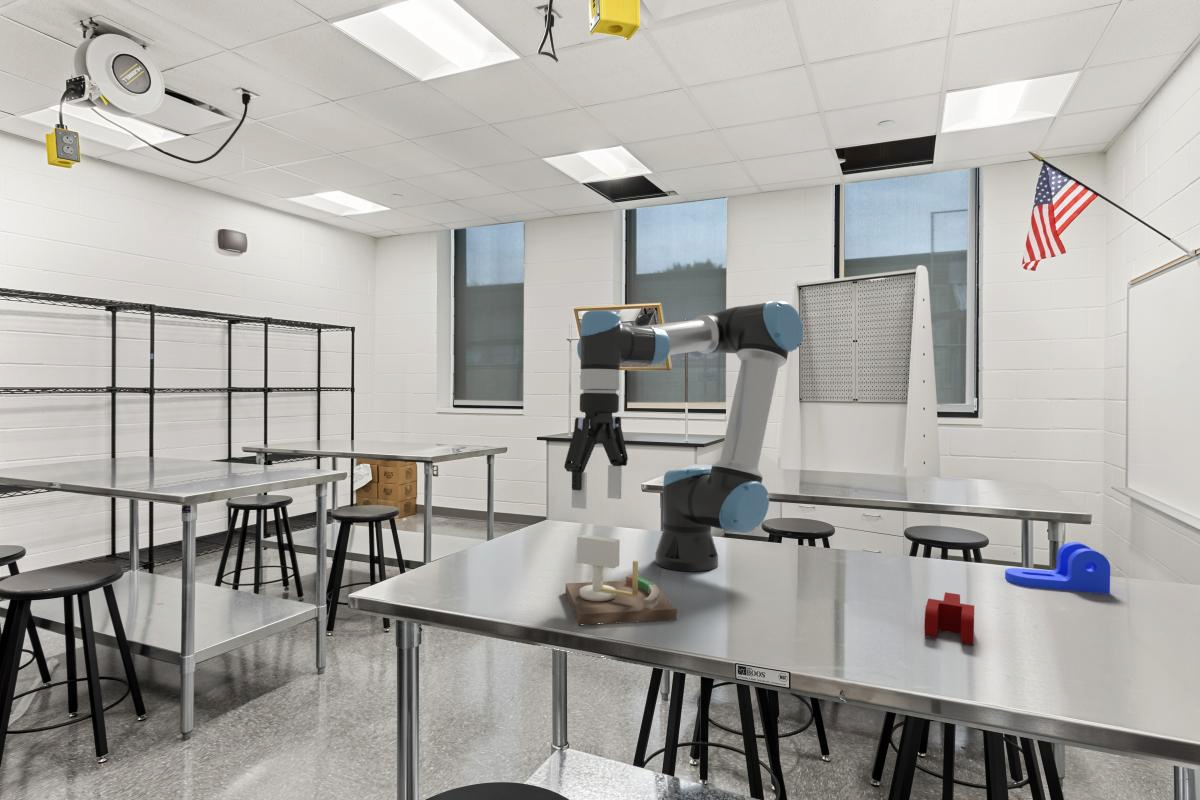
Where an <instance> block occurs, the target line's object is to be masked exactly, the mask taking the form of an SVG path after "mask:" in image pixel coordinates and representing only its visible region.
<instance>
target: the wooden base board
mask: <svg viewBox="0 0 1200 800" xmlns="http://www.w3.org/2000/svg"><path fill="white" fill-rule="evenodd" d="M632 582H633V574H632V575H631V574H628V575H627V576H626V577H625V580H612V581H611V580H610V581H603V585H607V586H611V587H613V588H615V589H616V590H621V591H627V592H632ZM587 585H593V581H588V582H585V581H584V582H566V583H565V596H566V598H567V597H568V598H567V601H568V603H569V602H570V603H569V605H570V604H571V605H570V608H571V607H572V608H571V610H572V609H573V610H572V612H574V613H573V615H574V614H575V615H574V617H575V620H576V619H577V620H576V622H577V621H578V622H577V624H579V625H578V626H581V625H580V624H595V625H602V624H601V623H613V624H620V623H619V622H631V623H638V622H637V621H648V622H664V621H677V617H678V616H677V615H678V614H677V609H678V608H677V607H675V605H674V604H673V603H672V602H671V601H670V600H669V599H668V597H667V596H666V595H665V594H664V593H663V592H662V590H661V589H660V588H659V587H658V586H657V584H655V583H654V581H653V580H652V579H646V578H643V577H640V576H638V597H637V598H634V597H628V596H623V595H618V594H616V597H615V598H613V599H611V600H606V601H590V600H585V599H583V598H581V597H580V588H582V587H584V586H587ZM616 622H617V623H616ZM598 623H600V624H598Z"/></svg>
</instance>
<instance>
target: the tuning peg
mask: <svg viewBox="0 0 1200 800" xmlns="http://www.w3.org/2000/svg"><path fill="white" fill-rule="evenodd" d="M576 542H577V543H576V547H577V548H576V562H577V563H578V564H583V565H588V566H589V565H591V566H592V582H593V585H587V586H584V587H582V588H580V597H581V598H583V599H585V600H590V601H606V600H611V599H613V598H615V597H616V594H618V595H623V596H628V597H634V598H637V597H638V577H639V561H638V560H633V561H632V575H633V582H632V592H627V591H621V590H616V589H615V588H613V587H611V586H607V585H603V582H604V568H607V569H615V568H617V567H619V566H620V542H621V539H618V538H613V537H612V538H610V537H603V536H596V535H591V534H590V535H589V534H582V535H579V536H577V537H576Z"/></svg>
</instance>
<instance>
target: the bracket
mask: <svg viewBox="0 0 1200 800" xmlns="http://www.w3.org/2000/svg"><path fill="white" fill-rule="evenodd" d="M1005 579H1006V580H1007V581H1006V580H1005ZM1004 580H1005V581H1006V582H1008V583H1010V584H1013V585H1017V586H1021V587H1028V588H1039V589H1049V590H1050V589H1051V590H1059V591H1060V590H1061V591H1071V592H1072V591H1073V592H1084V593H1096V594H1103V595H1104V594H1108V595H1110V594H1111V565H1110V561H1109V560H1108V559H1107V557H1106V556H1105V555H1103V554H1102V553H1100V552H1099V551H1097V550H1095V549H1092V548H1090V547H1089V546H1087V545H1086V544H1083V543H1081V542H1077V541H1070V542H1067V543H1065V544H1063V545H1061V546H1060V547H1059V548H1058V550H1057V553H1056V567H1055V568H1054V569H1052V570H1044V569H1031V568H1019V567H1017V568H1015V567H1014V568H1006V569H1004Z"/></svg>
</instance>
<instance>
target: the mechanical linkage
mask: <svg viewBox="0 0 1200 800" xmlns="http://www.w3.org/2000/svg"><path fill="white" fill-rule="evenodd" d="M939 631H941V632H946V633H952V634H957V635H960V643H961V644H963V645H969V646H974V643H975V642H974V638H975V605H973V604H967V603H961V594H959V593H958V594H957V593H952V592H944V596H943V600H942V599H935V598H927V601H926V605H925V609H924V637H925V638H932V639H935V640H936V639H938V634H939Z"/></svg>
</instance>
